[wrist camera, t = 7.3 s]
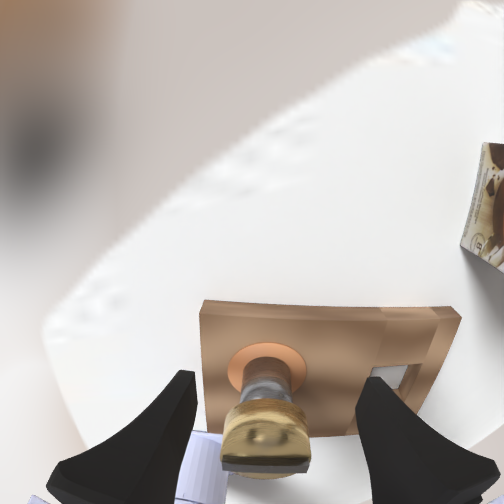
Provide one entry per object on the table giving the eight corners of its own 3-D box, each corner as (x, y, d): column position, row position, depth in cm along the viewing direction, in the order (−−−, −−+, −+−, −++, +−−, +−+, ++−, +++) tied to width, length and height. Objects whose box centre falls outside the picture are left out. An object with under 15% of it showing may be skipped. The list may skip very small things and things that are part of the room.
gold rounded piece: (305, 349, 20) (320, 446, 12) (296, 397, 22) (303, 486, 14) (232, 345, 20) (216, 443, 12) (232, 394, 22) (220, 483, 14)
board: (403, 414, 26) (409, 428, 24) (210, 418, 26) (207, 434, 24) (450, 306, 21) (463, 318, 19) (204, 299, 22) (198, 314, 20)
